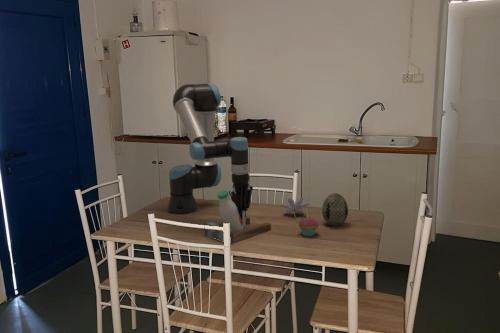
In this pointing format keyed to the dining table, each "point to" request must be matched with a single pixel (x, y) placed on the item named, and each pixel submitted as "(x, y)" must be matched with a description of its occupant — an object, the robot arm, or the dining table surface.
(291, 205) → the water lily
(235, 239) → the guide channel
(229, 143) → the robot arm
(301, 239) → the dining table surface
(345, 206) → the decorative egg
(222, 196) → the milk bottle
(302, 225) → the cupcake
